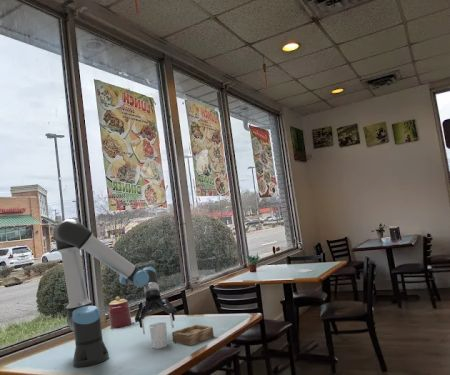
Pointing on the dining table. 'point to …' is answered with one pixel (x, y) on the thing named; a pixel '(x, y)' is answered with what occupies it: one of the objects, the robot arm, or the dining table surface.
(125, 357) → the dining table surface
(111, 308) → the canister
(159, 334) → the white cup
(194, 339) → the brown wooden tray
